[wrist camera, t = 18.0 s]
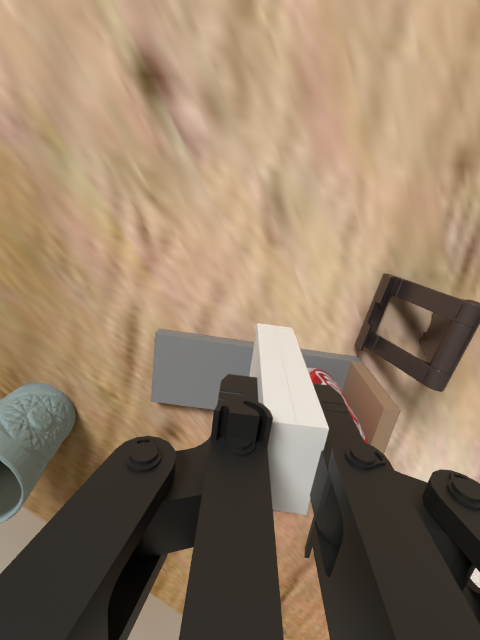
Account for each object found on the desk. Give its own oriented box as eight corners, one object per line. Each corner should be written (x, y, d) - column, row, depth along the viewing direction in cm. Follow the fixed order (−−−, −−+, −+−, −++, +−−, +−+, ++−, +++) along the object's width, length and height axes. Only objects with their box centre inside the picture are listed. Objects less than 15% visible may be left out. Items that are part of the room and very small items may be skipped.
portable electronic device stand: (381, 270, 34) (422, 288, 27) (447, 287, 35) (507, 310, 27) (352, 342, 37) (381, 378, 29) (413, 356, 38) (459, 396, 30)
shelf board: (359, 357, 38) (400, 410, 28) (339, 419, 41) (371, 486, 31) (158, 328, 37) (128, 373, 27) (154, 394, 40) (125, 456, 30)
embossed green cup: (9, 438, 42) (-75, 523, 31) (-4, 372, 39) (-105, 440, 28) (86, 444, 42) (29, 530, 31) (79, 378, 39) (13, 448, 28)
